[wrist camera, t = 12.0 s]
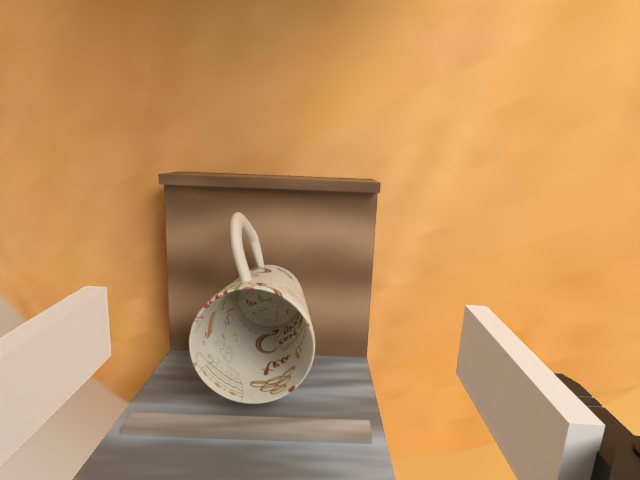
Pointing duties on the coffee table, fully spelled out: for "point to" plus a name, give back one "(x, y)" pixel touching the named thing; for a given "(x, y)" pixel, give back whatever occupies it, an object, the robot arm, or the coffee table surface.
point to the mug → (253, 329)
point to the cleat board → (327, 320)
